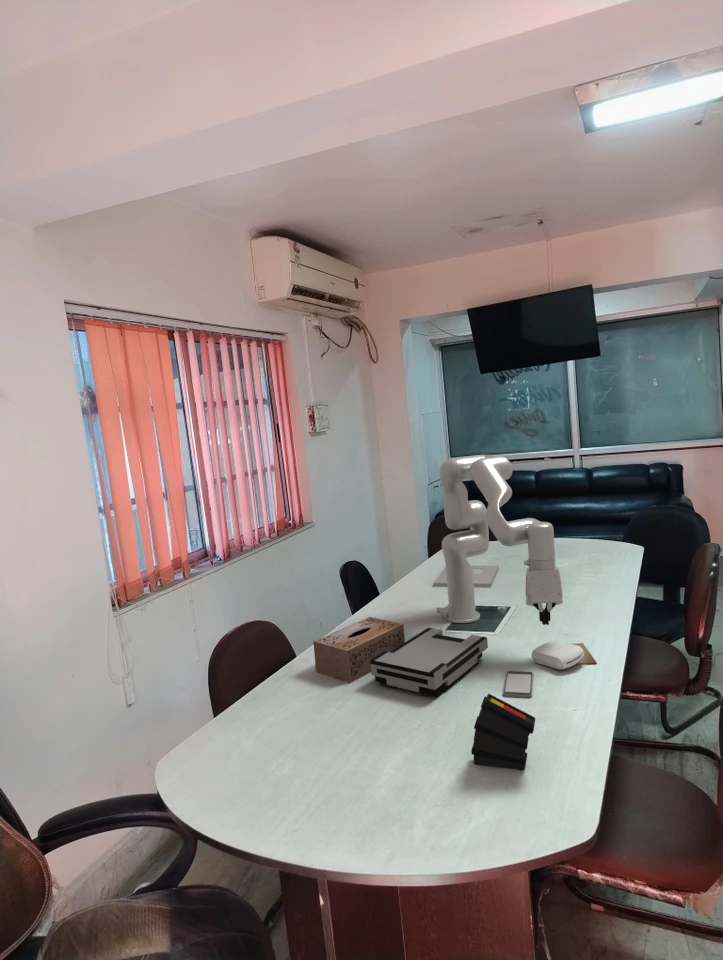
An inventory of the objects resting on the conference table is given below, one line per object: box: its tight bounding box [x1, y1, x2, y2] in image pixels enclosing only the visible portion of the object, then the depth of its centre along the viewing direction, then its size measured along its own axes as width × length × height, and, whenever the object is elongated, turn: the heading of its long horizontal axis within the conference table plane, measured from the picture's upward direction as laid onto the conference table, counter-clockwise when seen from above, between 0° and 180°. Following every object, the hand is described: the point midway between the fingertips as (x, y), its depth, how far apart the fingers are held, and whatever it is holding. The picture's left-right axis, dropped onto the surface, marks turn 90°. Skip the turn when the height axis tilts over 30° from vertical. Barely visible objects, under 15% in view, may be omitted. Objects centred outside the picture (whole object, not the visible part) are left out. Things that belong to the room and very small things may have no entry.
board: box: [572, 642, 598, 666], centre depth 187 cm, size 12×15×1 cm
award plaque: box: [432, 564, 500, 589], centre depth 280 cm, size 25×30×2 cm
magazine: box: [471, 693, 536, 771], centre depth 133 cm, size 4×13×15 cm, turn 70°
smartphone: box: [502, 670, 534, 699], centre depth 170 cm, size 7×1×15 cm
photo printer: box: [531, 639, 584, 671], centre depth 181 cm, size 10×4×12 cm
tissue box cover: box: [312, 616, 406, 684], centre depth 193 cm, size 26×14×10 cm, turn 137°
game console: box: [370, 627, 489, 699], centre depth 182 cm, size 21×32×8 cm, turn 143°
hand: (545, 623), depth 186 cm, fingers closed
